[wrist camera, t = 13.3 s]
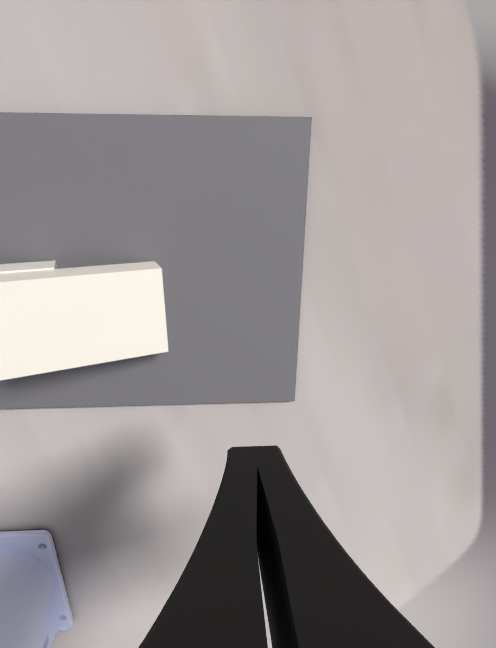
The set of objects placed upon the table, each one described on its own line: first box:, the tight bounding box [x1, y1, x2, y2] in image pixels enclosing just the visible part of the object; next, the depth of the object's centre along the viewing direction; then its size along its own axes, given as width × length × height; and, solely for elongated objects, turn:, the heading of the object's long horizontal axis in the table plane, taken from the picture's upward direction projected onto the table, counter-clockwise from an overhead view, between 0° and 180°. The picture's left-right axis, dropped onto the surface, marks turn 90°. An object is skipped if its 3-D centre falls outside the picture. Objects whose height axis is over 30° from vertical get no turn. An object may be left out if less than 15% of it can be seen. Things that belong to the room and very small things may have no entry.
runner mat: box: [0, 113, 312, 409], centre depth 18 cm, size 14×28×1 cm, turn 90°
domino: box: [0, 261, 168, 380], centre depth 16 cm, size 4×2×7 cm
